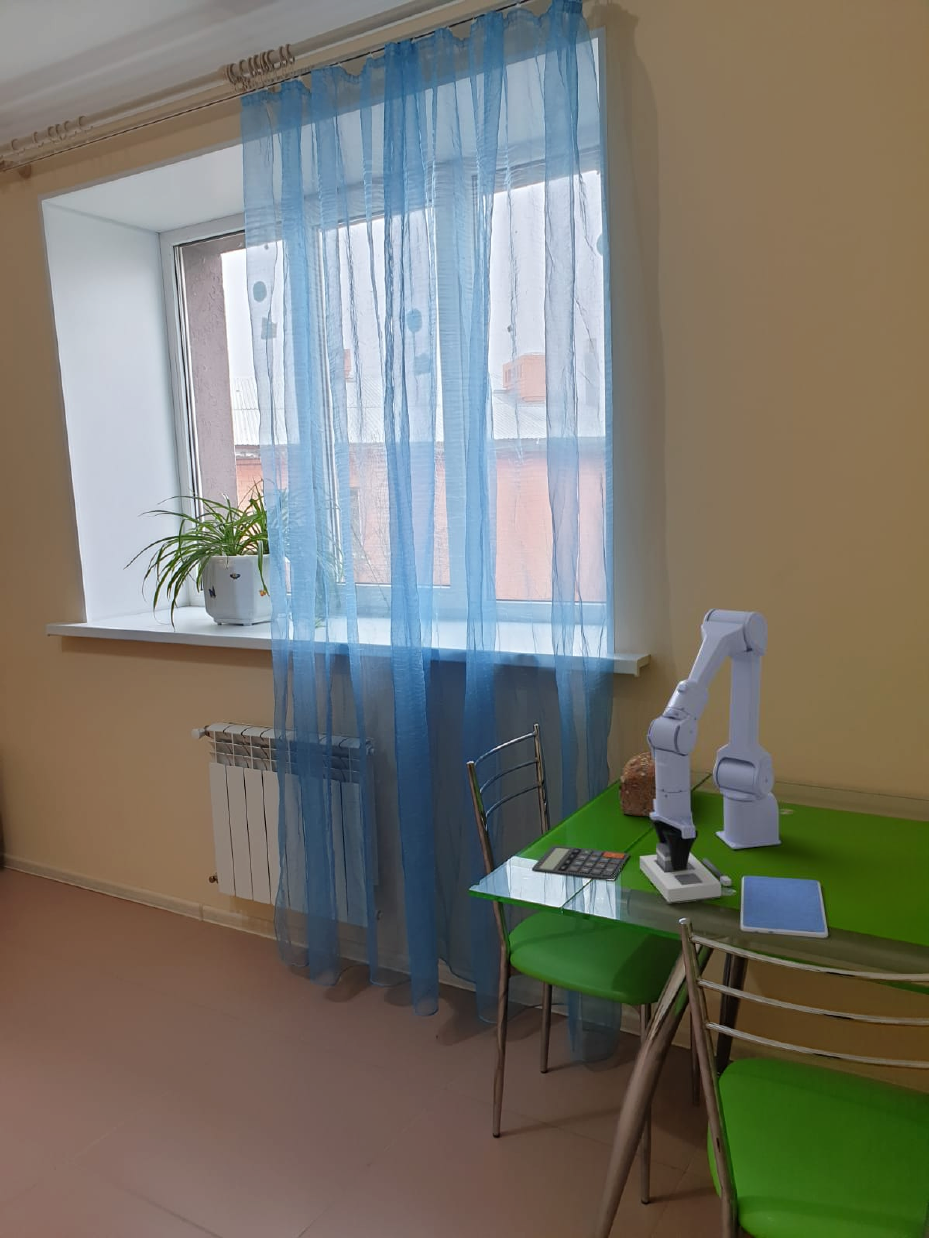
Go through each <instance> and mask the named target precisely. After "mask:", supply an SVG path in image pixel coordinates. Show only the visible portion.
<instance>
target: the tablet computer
mask: <svg viewBox="0 0 929 1238" xmlns="http://www.w3.org/2000/svg"><path fill="white" fill-rule="evenodd" d="M740 897H741V899H740V916H739V917H740V920H739V921H740V929H741V931H743V932H749V933H751V932H752V933H761V934H762V933H763V934H774V935H775V934H776V935H783V936H784V935H787V936H798V937H810V938H820V939H824V938H827V937H828V936H829V932H828V925H827V919H826V914H825V913H826V912H825V911H826V910H825V906H824V899H823V894H822V888H821V883H820V881H818V880H813V879H805V878H804V879H803V878H787V877H785V878H784V877H771V876H770V877H769V876H756V875H754V876H753V875H745V876H743V877H741V896H740Z"/></svg>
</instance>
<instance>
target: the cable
mask: <svg viewBox="0 0 929 1238" xmlns="http://www.w3.org/2000/svg"><path fill="white" fill-rule="evenodd" d="M702 863H703V864H704V865H705V867H707V868H708V869H709V870H710V871H711V873H713V874H714V875H715V877H717V879H718V880H719V882H720V883H721V885H723V886H724V887H728V886H732V879H731V878H729V877H728V875H724V874H723V873H722V872H721V871H720V870H719V869H718V868H717V867H716V866H715V865H713V863H711V862H710V860H708V858H706V857H703V858H702Z"/></svg>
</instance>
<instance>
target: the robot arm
mask: <svg viewBox="0 0 929 1238" xmlns="http://www.w3.org/2000/svg"><path fill="white" fill-rule="evenodd" d="M700 627H701V628H700V631H701V638H702V644H701V645H700V648H699V651H698V654H697V656H696V658H695V660H694V663H693V666H692V668H691V671H690V673H689V676H688V678H687V679H684V680H681V681H679V682H678V684H677V686H676V688H675V690H674V691H673V694H672V695H671V697H670V699H669V701H668V704H667V705H666V707H665V709H664V711H663V713H662V715H660V716H658V718H654V719H653V720H652V721H651V722H650V725H649V728H648V732H647V735H646V741H647V745H648V746H649V748H650V749H651V750H650V751H652V757H653V759H654V760H655V779H656V799H653V803H654V810H655V812H651V813H650V817H649V818H650V819H649V821H650V822H651V825H652V826H653V828H654V830H655V833H656V836H657V839H658V844H660V843H668V846H669V850H670V857H671V863H672V867H673V869H674V870H682V869H686V867H687V863H688V858H689V854H690V853H691V850H692V847H693V845H694V843H695V842H696V840H697V838H698V837H699V831H698V830H697V829H696V826H695V825H694V823H693V822H694V821H693V812H692V811H691V767H690V766H691V765H690V764H691V763H690V761H691V760H690V753H691V752H692V751H693V750H694V748H695V746H696V743H697V739H698V730H699V726H700V725H699V723H698V722H699V720H700V718H701V716H702V714H703V712H704V710H705V708H706V706H707V704H708V702H709V700H710V693H709V690H708V687H709V686H710V683H711V682H712V680H713V678H714V677H715V675H716V674H717V672H718V671H719V669H720V668H721V666H722V665H723V662H724V661H725V660H726V658H727V656H728V657H729V658H730V659H731V677H730V678H731V679H730V681H731V682H730V685H731V686H730V706H729V730H728V732H729V733H728V737H729V738H728V743H726V744H725V745H724V746H722V747H720V748H719V749H718V750H717V752H716V758H715V764H714V766H713V770H712V777H713V782H714V784H715V786H716V787H717V788H718V789H719V793H720V794H721V795H723V830H721V831H720V830H719V831H716V832H715V835H716V836H717V837H718V838H720V839H721V840H722V841H723V842H724V843H725V844H726V845H727V846H728V847H730V848H731V849H732V850H739V849H748V848H754V847H755V848H758V847H763V846H774V845H781V843H782V842H781V840H780V839H779V838H780V837H779V836H780V834H779V833H780V831H779V830H780V823H779V822H780V820H779V819H780V818H779V817H780V815H779V814H780V813H779V812H780V811H779V805H778V801H777V799H776V797H775V795H774V793H772V792H771V791H772V790H773V787H774V783H775V774H774V769H773V762H772V761H773V760H772V759H773V758H772V755H771V754H770V753H769V752H768V751H767V750H766V749H764V748H763V747H762V746H761V745H760V743H759V725H760V724H759V723H760V705H761V704H760V701H761V699H760V698H761V680H762V679H761V678H762V677H761V675H762V656H764V655H766V654H767V646H768V622H767V619H766V618H765V617H764V616H763V615H762V613H761V612H759V611H741V610H728V609H727V610H726V609H719V608H711V609H709V610H708V611H707V613H706V614H705V616H704V617H703V621H702V624H701V626H700Z"/></svg>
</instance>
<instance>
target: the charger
mask: <svg viewBox="0 0 929 1238" xmlns="http://www.w3.org/2000/svg"><path fill="white" fill-rule="evenodd" d="M655 851H656V852H655V853H656V855H657V865H658V866H659V867H660V868H661V869H662V870H663V871H664V873H668V872H676V871H685V870H688V863H687V867H686V869H682V870H674V869H673V867H672V863H671V857H670V850H669V846H668V843H656V848H655Z"/></svg>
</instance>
